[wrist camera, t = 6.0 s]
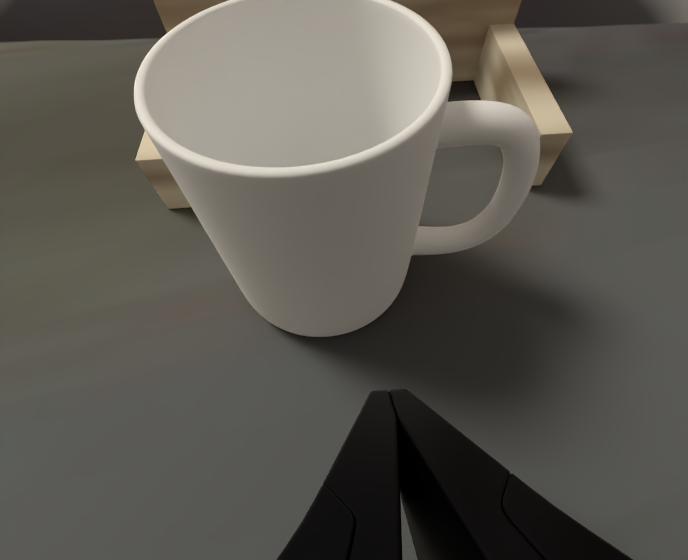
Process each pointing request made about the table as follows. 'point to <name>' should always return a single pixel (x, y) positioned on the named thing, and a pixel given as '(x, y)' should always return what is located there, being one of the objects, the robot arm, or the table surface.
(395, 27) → the cup
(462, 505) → the robot arm
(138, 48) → the table surface
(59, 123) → the table surface
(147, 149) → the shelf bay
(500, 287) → the table surface
